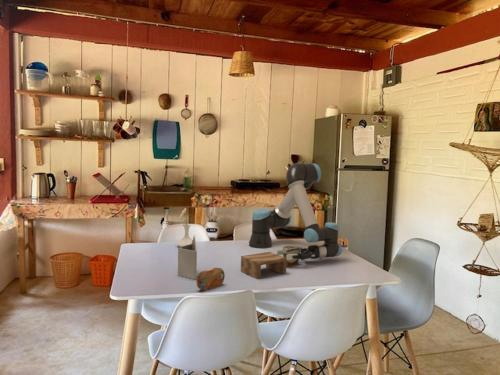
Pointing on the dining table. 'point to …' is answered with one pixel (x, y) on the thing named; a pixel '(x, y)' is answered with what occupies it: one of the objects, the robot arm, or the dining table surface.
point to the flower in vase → (186, 239)
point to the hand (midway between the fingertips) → (281, 254)
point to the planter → (187, 260)
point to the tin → (210, 278)
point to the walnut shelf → (262, 263)
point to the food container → (291, 250)
